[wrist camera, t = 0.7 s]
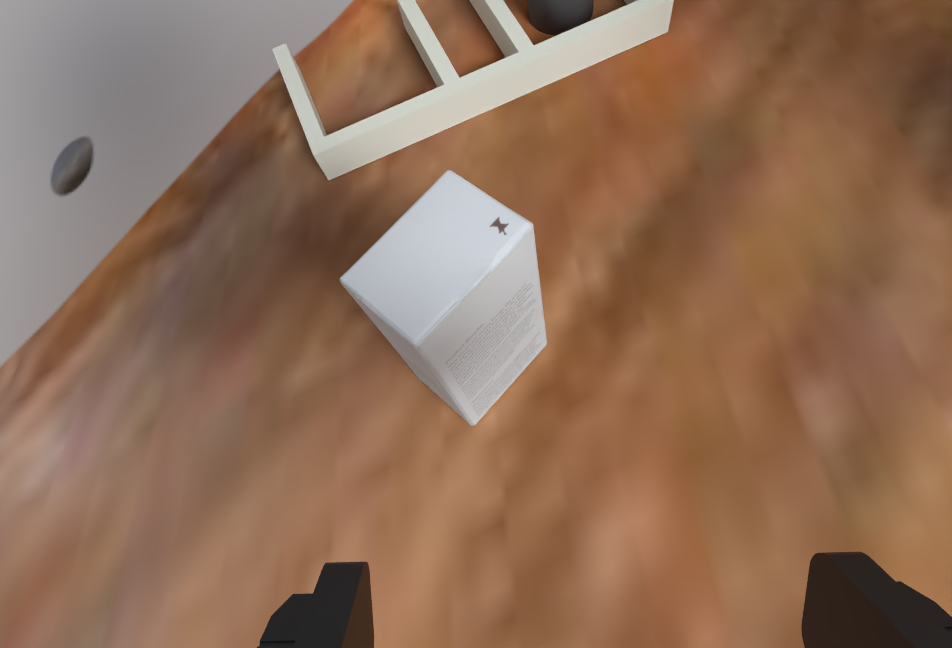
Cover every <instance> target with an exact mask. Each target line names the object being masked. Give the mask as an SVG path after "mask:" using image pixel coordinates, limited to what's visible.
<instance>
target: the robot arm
mask: <svg viewBox="0 0 952 648" xmlns="http://www.w3.org/2000/svg"><path fill="white" fill-rule="evenodd" d="M802 637H803V642H804V646H805V648H952V617H951V616H950V615H949V614H948V613H947V612H945V611H944V610H943V609H942V608H941V607H940V606H939V605H938V604H937V603H936V602H934V601H932V600H931V599H929V598H927V597H926V596H924V595H922V594H921V593H919V592H917V591H916V590H914V589H912V588H911V587H909V586H907V585H905V584H904V583H902V582H900V581H899V582H895V581H894V580H893V579H892V578H891V577H890V576H889V575H888V574H887V573H886V572H885V571H884V570H883V569H882V568H881V567H880V566H879V565H878V564H876V563H875V562H874V561H873V560H872V559H871V558H870V557H869V556H868V555H866V554H864V553H862V552H832V553H816V554H815V555H814V556H813V557H812V559H811V562H810V567H809V575H808V582H807V589H806V596H805V604H804V611H803V618H802ZM257 648H374V628H373V614H372V600H371V586H370V572H369V566H368V563H367V562H336V563H325V565H324V566H323V569H322V571H321V574H320V576H319V579H318V582H317V584H316V587H315V590H314V592H313V594H293V595H292V596H291V597H290V598H289V599H288V600H287V601H286V602H285V603H284V604H283V605H282V606H281V607H280V608H279V609H278V610H277V611H276V612H275V613H274V614H273V615H272V616H271V618H270V620H269V622H268V624H267V627H266V629H265V631H264V633H263V635H262V638H261V640H260V645H259V647H257Z"/></svg>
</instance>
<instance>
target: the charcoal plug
mask: <svg viewBox="0 0 952 648" xmlns="http://www.w3.org/2000/svg"><path fill="white" fill-rule="evenodd" d="M527 3H528V16H529V20H530V22H531V24H532V25H533V26H534V27H535V28H536V29H538V30H539V31H541V32H544V33H547V34H553V35H559V34H561V33H564V32H566V31H568V30H571V29H573V28H575V27H578V26H580V25H582V24H584V23H587V22H588V21H589V20H590V18H591V16H592V13H593V0H527Z"/></svg>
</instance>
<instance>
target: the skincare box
mask: <svg viewBox="0 0 952 648" xmlns="http://www.w3.org/2000/svg"><path fill="white" fill-rule="evenodd" d="M340 282H341V284H342V285H343V287H344V288H345V289H346V290H347V291H348V293H349V294H350V295H351V296H352V297H353V299H354V300H355V301H356V302H357V303H358V305H359V306H360V307H361V308H362V310H363V311H364V312H365V313H366V314H367V316H368V317H369V318H370V319H371V320H372V322H373V323H374V324H375V325H376V326H377V328H378V329H379V330H380V331H381V333H382V334H383V335H384V336H385V337H386V339H387V340H388V341H389V342H390V344H391V345H392V346H393V347H394V349H395V350H396V351H397V352H398V353H399V355H400V356H401V357H402V358H403V360H404V361H405V362H406V363H407V364H408V366H409V367H410V368H411V369H412V371H413V372H414V373H415V374H416V376H417V377H418V378H419V379H420V380H421V381H422V382H424V383H425V384H426V385H427V386H428V387H429V388H430V389H431V390H432V391H433V392H435V393H436V394H437V395H438V396H439V397H440V398H441V399H442V400H443V401H444V402H445V403H447V404H448V405H449V406H450V407H451V408H452V409H453V410H454V411H455V412H456V413H458V414H459V415H460V416H461V417H462V418H463V419H464V420H465V421H467V422H468V423H469V424H470V425H472V426H474V425H476V424H477V422H478V421H479V420H480V419H481V418H482V417H483V416H484V414H485V413H486V412H487V411H488V410H489V409H490V408H491V407H492V405H493V404H494V403H495V402H496V401H497V400H498V399H499V398H500V397H501V395H502V394H503V393H504V392H505V391H506V390H507V389H508V388H509V386H510V385H511V384H512V383H513V382H514V381H515V380H516V378H517V377H518V376H519V375H520V374H521V373H522V372H523V371H524V369H525V368H526V367H527V366H528V365H529V364H530V363H531V361H532V360H533V359H534V358H535V357H536V356H537V355H538V354H539V353H540V351H541V350H542V349H543V348H544V347H545V346H546V344H547V340H546V331H545V322H544V314H543V306H542V296H541V288H540V280H539V272H538V263H537V254H536V246H535V236H534V229H533V224H532V223H531V222H530V221H528V220H527V219H525V218H523V217H522V216H520V215H519V214H517V213H516V212H514V211H512V210H511V209H509V208H508V207H506V206H505V205H503V204H501V203H500V202H498V201H497V200H495V199H494V198H492V197H490V196H489V195H487V194H486V193H484V192H483V191H481V190H480V189H478V188H477V187H475V186H474V185H472V184H471V183H469V182H468V181H466V180H465V179H463V178H462V177H460V176H459V175H457V174H455V173H454V172H452V171H451V170H447V171H446V172H445V173H444V174H443V175H442V176H441V177H440V178H439V179H438V180H437V181H436V182H435V183H434V184H433V185H432V186H431V187H430V188H429V189H428V190H427V191H426V192H425V193H424V194H423V195H422V196H421V197H420V198H419V199H418V200H417V201H416V202H415V203H414V204H413V205H412V206H411V207H410V208H409V209H408V210H407V211H406V212H405V213H404V214H403V215H402V216H401V217H400V218H399V219H398V220H397V221H396V223H395V224H394V225H393V226H392V227H391V228H390V229H389V230H388V231H387V232H386V233H385V234H384V235H383V236H382V237H381V238H380V239H379V240H378V241H377V242H376V243H375V244H374V245H373V246H372V247H371V248H370V249H369V250H368V251H367V252H366V253H365V254H364V255H363V256H362V257H361V258H360V259H359V260H358V261H357V262H356V263H355V264H354V265H353V266H352V267H351V268H350V269H349V270H348V271H347V272H346V273H345V274H343V275H342V276H341V278H340Z"/></svg>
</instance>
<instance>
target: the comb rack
mask: <svg viewBox="0 0 952 648" xmlns="http://www.w3.org/2000/svg"><path fill="white" fill-rule="evenodd" d="M469 1H470V3H471V4H472V6H473V7H474V9H475V10H476V12H477V14H478V15H479V17H480V18H481V20H482V21H483V23H484V24H485V26H486V28H487V29H488V31H489V32H490V34H491V35H492V37H493V39H494V40H495V42H496V43H497V45H498V46H499V48H500V50H501V51H502V53H503V54H504V56H505V57H506V58H504V59H502V60H499V61H497V62H495V63H493V64H490V65H488V66H486V67H483V68H481V69H479V70H476V71H474V72H472V73H470V74H467V75H465V76H463V77H460V78H459V76H458V75H457V73H456V71H455V69H454V68H453V66H452V64H451V62H450V61H449V59H448V57H447V55H446V54H445V52H444V50H443V48H442V47H441V45H440V43H439V41H438V40H437V38H436V36H435V35H434V33H433V31H432V29H431V28H430V26H429V24H428V22H427V21H426V19H425V17H424V15H423V14H422V12H421V10H420V8H419V7H418V5H417V3H416V1H415V0H397V3H398V6H399V10H400V13H401V16H402V20H403V23H404V27H405V29H406V31H407V32H408V34H409V36H410V38H411V40H412V42H413V43H414V45H415V47H416V49H417V51H418V53H419V54H420V56H421V58H422V60H423V62H424V64H425V65H426V67H427V69H428V71H429V73H430V75H431V76H432V78H433V80H434V82H435V84H436V86H437V88H435V89H433V90H431V91H428V92H426V93H424V94H421V95H419V96H417V97H414V98H412V99H410V100H408V101H405V102H403V103H401V104H398V105H396V106H394V107H391V108H389V109H387V110H385V111H382V112H380V113H378V114H375V115H373V116H371V117H368V118H366V119H364V120H362V121H359V122H357V123H355V124H352V125H350V126H348V127H346V128H343V129H341V130H339V131H336V132H334V133H332V134H329V135H327V134H326V131H325V129H324V127H323V124H322V122H321V119H320V117H319V114H318V112H317V109H316V107H315V105H314V102H313V100H312V97H311V95H310V92H309V90H308V88H307V85H306V83H305V80H304V78H303V75H302V73H301V71H300V69H299V67H298V65H297V63H296V61H295V59H294V58H293V56H292V54H291V52H290V50H289V48H288V46H287V44H286V43H285V44H282V45H280V46H278V47H276V48H273V49H272V50H273V53H274V55H275V58H276V60H277V63H278V66H279V68H280V71H281V73H282V76H283V79H284V81H285V84H286V86H287V89H288V92H289V94H290V97H291V99H292V102H293V104H294V107H295V110H296V112H297V115H298V117H299V120H300V122H301V125H302V128H303V130H304V133H305V135H306V138H307V141H308V143H309V146H310V148H311V151H312V153H313V156H314V157H315V159H316V161H317V162H318V164H319V166H320V167H321V169H322V171H323V172H324V174H325V175H326V177H327V179H328V180H331V179H334V178H336V177H338V176H340V175H343V174H345V173H347V172H350V171H352V170H354V169H356V168H359V167H361V166H363V165H365V164H368V163H370V162H372V161H375V160H377V159H379V158H381V157H384V156H386V155H388V154H391V153H393V152H395V151H397V150H400V149H402V148H404V147H407V146H409V145H411V144H413V143H416V142H418V141H420V140H423V139H425V138H427V137H429V136H432V135H434V134H436V133H439V132H441V131H443V130H445V129H448V128H450V127H452V126H454V125H457V124H459V123H461V122H464V121H466V120H468V119H470V118H473V117H475V116H477V115H480V114H482V113H484V112H486V111H489V110H491V109H493V108H496V107H498V106H500V105H502V104H505V103H507V102H509V101H512V100H514V99H516V98H518V97H521V96H523V95H525V94H528V93H530V92H532V91H534V90H537V89H539V88H541V87H543V86H546V85H548V84H550V83H553V82H555V81H557V80H559V79H562V78H564V77H566V76H569V75H571V74H573V73H575V72H578V71H580V70H582V69H585V68H587V67H589V66H591V65H594V64H596V63H598V62H601V61H603V60H605V59H607V58H610V57H612V56H614V55H617V54H619V53H621V52H623V51H626V50H628V49H630V48H632V47H635V46H637V45H639V44H642V43H644V42H646V41H648V40H651V39H653V38H655V37H658V36H660V35H662V34H664V33H667V32H668V28H669V23H670V18H671V12H672V7H673V2H674V0H623V1H624V2H625V3H626V4H627V5H626V6H623V7H621V8H619V9H617V10H614V11H612V12H610V13H607V14H605V15H603V16H600V17H598V18H596V19H594V20H591V21H589V22H587V23H584V24H582V25H580V26H578V27H575V28H573V29H571V30H568V31H566V32H564V33H561V34H559V35H557V36H555V37H552V38H550V39H548V40H545V41H543V42H541V43H538V44H536V45H533V44H532V42H531V41H530V39H529V38H528V36H527V35H526V33H525V32H524V30H523V29H522V27H521V26H520V24H519V23H518V22H517V20H516V19H515V17H514V16H513V14H512V13H511V11H510V10H509V8H508V7H507V5H506V4H505V2H504V1H503V0H469Z"/></svg>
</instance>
